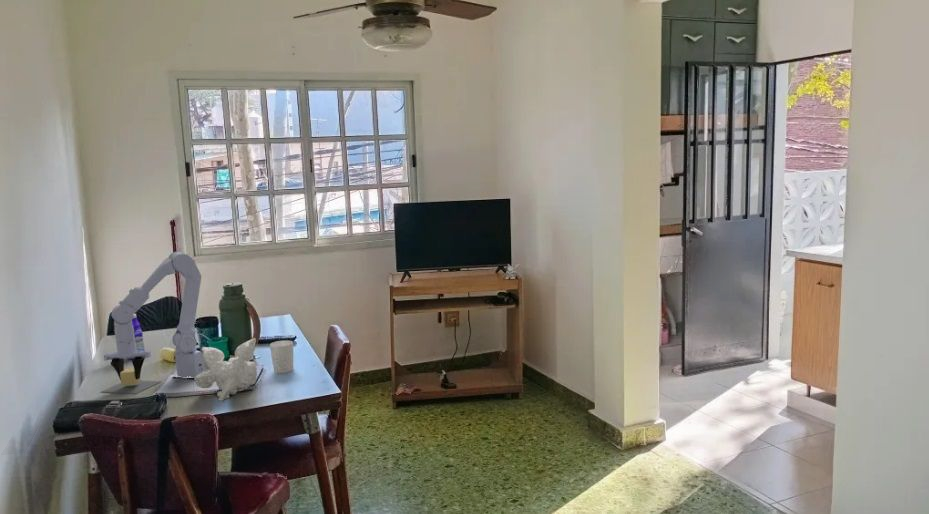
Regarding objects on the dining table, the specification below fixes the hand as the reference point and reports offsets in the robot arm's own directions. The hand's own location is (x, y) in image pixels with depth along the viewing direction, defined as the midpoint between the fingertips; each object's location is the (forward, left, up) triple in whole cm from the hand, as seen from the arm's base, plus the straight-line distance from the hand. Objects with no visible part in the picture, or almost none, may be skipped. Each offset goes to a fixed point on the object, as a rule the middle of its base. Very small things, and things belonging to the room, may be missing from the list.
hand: (130, 378), depth 224 cm
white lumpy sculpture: (-38, -1, -3) cm, 38 cm away
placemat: (0, 0, -3) cm, 3 cm away
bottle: (+26, -32, -3) cm, 41 cm away
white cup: (-45, -23, -3) cm, 51 cm away
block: (0, 0, -2) cm, 2 cm away
